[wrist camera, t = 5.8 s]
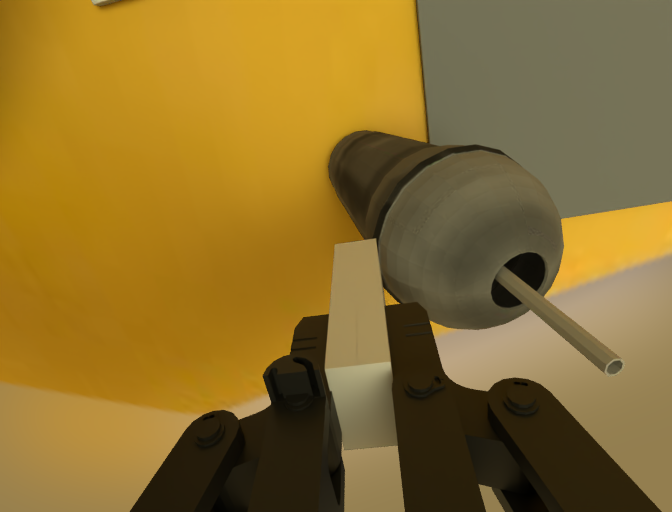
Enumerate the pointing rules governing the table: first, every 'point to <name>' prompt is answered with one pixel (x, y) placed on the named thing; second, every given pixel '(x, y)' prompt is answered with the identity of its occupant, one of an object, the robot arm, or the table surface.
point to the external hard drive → (103, 2)
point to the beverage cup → (459, 232)
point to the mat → (557, 92)
